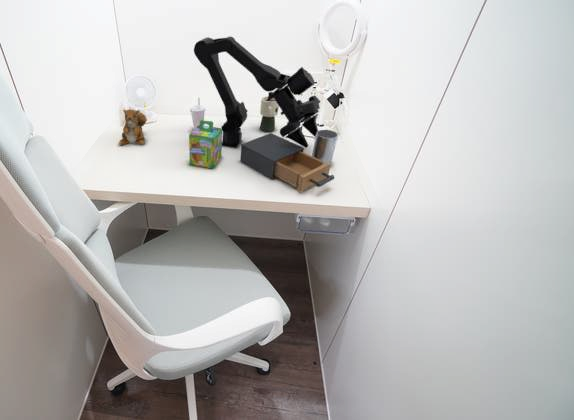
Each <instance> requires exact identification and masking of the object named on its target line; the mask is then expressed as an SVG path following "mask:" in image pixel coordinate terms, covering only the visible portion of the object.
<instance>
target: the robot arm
mask: <svg viewBox="0 0 574 420" xmlns="http://www.w3.org/2000/svg"><path fill="white" fill-rule="evenodd" d="M193 53H194V56H195V57H196V58H197V61H199V62H200V64H201V65H202V66H203V67H204V68H205V69H206V70H207V71H208V74H209V76H210V78H211V80H212V82H213V85H214V87H215V89H216V91H217V93H218V95H219V97H220V100H221V101H222V103H223V106H224V111H225V113H224V115H225V118H226V121H225V122H224V123H223V124H222V126H221V127H220V128H221V129H222V146H223V147H229V148H235V149H237V148H238V147H239V146H240V144H242V142H243V140H242V139H243V132H242V126H243V124H244V123H246V120H247V119H248V112H249V111H248V109H247V108H246V106H245V103H244V101H241V102H240V101H238V100H237V98H236V96H235V94H234V92H233V90H232V88H231V85H230V83H229V81H228V79H227V77H226V75H225V72H224V70H223V67H222V66H221V64H220V58H219V54H220V53H226V54H228V55H229V56H230V57H231V58H233V60H235V61H236V62H237V63H238V64H240V65H241V66H242V67H243V68H245V70H247V71H248V72H249V73H251V74H252V76H253V77H254V79H255V81H256V83H257V84H258V85H259V86H260V87H261V89H262V90H263V91H265V92H267V93H268V95H267V96H268V99H267V100H268V101H270V100H272V99H273V98H274V99H275V101H276V102H277V104H278V106H279V109H280V111H281V112H280V115H281V116H283V115H284V116H285V118H286V119H287V122H286V124H285V125H284V126H283V127H281V128H280V129H279V134H280V137H281V138H284V139H289V140H291V141H293V142H294V143H297V145H299V146H301V147H304V149H305V148H306V149H307V148H308V147H309V146H310V145H309V144H308V141H307V139H306V137H305V135H304V133H303V128H304V129H305V130H307V131H308V132H309V133H310V134H311V135H312V136H314V138H315V137H316V133H317V131H319V128H318V125H317V119H318V116H319V112H320V111H319V110H320V109H321V107H320V103H321V100H320V99H319V98H318V97H317V96H316V95H311V96H310V97H309V98H308V100H306V101H305V102H303V101H302V100H301V99H298V100H297V99H296V97H295V96H301V95H302V94H303V93H305V92H306V91H307V90H309V89H310V88H312V87H313V86H314V85H315V84H316V82H315V79H314V77H313V75H312V74H311V73H310V72H309V71H308V70H306V69H305V68H304V67H303V66H301V67H299V68H298V70H297V71H296V72H294V73H293V74H292V75H289V74H283V73H281V72H280V71H279V70H278V69H277V68H274V67H272V65H268V64H265V63H263V62H262V61H260V60H259V59H258V58H257V57H256V56H254V54H252V53H251V52H250V51H249V50H247V49H246V48H245V47H244V46H243V45H242V44H240V43H239V42H238V41H237V40H236V39H235V38H234V37H233V36H227V37H219V38H211V37H210V36H209V37H204V38H202V39H200V40H198V41H197V42H196V43H195V44H194V47H193ZM294 95H295V96H294Z"/></svg>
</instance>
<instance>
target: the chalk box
mask: <svg viewBox="0 0 574 420" xmlns="http://www.w3.org/2000/svg"><path fill="white" fill-rule="evenodd" d="M188 137H189V138H188V144H189V145H188V147H189V165H191V166H197V167H202V168H207V169H211V170H213V169H214V168H215V167H216V166H217V165H218V164H219V161H220V160H221V158H222V150H223V149H222V146H223V145H222V142H223V131H222V128H221V127H215V126H214V122H213V120H204V121H203V120H201V121H200V125H198V126H197V127H196V128H195V129H194V128H193V130H192V131H191V133H190V134H188Z"/></svg>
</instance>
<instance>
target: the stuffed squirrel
mask: <svg viewBox="0 0 574 420" xmlns="http://www.w3.org/2000/svg"><path fill="white" fill-rule="evenodd" d="M122 111H123V114H124V120H123V122H122V123H123V124H124V126H123V127H122V131H123V132H122V133H121V138H122V139H120V140H119V142H118V145H119V146H125V145H127V144H138V145H141V146H143V145H145V143H146V137H145V135H144V132H143V126H145V124H146V123H147V122H148V118H147V117H146V115H145V114H144V113H143V112H141V110H140V109H138V110H135V109H125V108H124V109H122Z"/></svg>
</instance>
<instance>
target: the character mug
mask: <svg viewBox="0 0 574 420" xmlns="http://www.w3.org/2000/svg"><path fill="white" fill-rule="evenodd" d="M267 99H268V95H267V96H262V97H261V101H260V111H259V114H260V115H261V120H260V125H259V130H262V131H265V132H274V131H275V130H276V116H278V114H279V109H280V107H279V106H278V104H277V102H276V101H275V99H274V98H273V99H272V100H270V101H268V100H267Z"/></svg>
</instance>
